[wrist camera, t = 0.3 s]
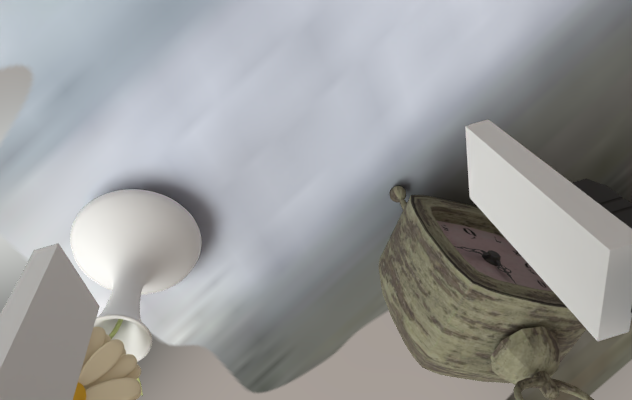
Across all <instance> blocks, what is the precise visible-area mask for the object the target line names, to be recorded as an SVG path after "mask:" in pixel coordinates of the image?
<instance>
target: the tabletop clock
mask: <svg viewBox="0 0 632 400" xmlns="http://www.w3.org/2000/svg"><path fill="white" fill-rule="evenodd" d="M405 197H406V191H405V189H404V188H403V187H401V186H395V187H393V188H392V189H391V190H390V198H391V199H392V200H393V201H395V202H400V204H401V207H402V209H403V212H402V214H401V216H400V218H399V221H398V223H397V225H396V227H395V229H394V231H393V233H392V235H391V237H390V239H389V241H388V243H387V245H386V247H385V249H384V251H383V253H382V255H381V257H380V261H379V273H380V280H381V287H382V292H383V296H384V298H385V301H386V304H387V306H388V309H389V312H390V314H391V317H392V319H393V321H394V323H395V325H396V327H397V329H398V331H399V333H400V335H401V337H402V339H403V341H404V343H405V345H406V346H407V348H408V350H409V351H410V353H411V354H412V356H413V357H414V358H415V359H416V361H417V362H418V363H419V364H420V365H421V366H422V367H423V368H425V369H427V370H430V371H432V372H435V373H438V374H441V375H445V376H451V377H457V378H464V379H471V380H477V381H485V382H502V383H513V384H515V387H514V396H515V399H516V400H524V399H523V397H522V395H521V392H522V391H523V390H524V389H527V388H539V389H540V390H541V392H542V393H543V394H544V396H545V397H546V398H548V399H550V400H552V399H555V398H557V397H558V396H559V391H563V392H566V393H569V394H572V395H574V396H576V397H579V398H581V399H583V400H594V399H592V398H591V397H590V396H589V395H588V394H586V393H585V392H583V391H582V390H580V389H579V388H577V387H575V386H573V385H570V384H568V383H565V382H563V381H559V380H555V379H552V378H551V377H552V376H553V375H554V373H555V372H556V371H557V369H558V367H559V364H560V362H561V361H562V360H563V358H564V357H565V356H566V355H567V353H568V352H569V351H570V350H571V348H572V347H573V346H574V344H575V343H576V342H577V341H578V339H579V338H580V337H581V335H582V334H583V333H584V332H585V330H586V328H585V327H584V326H583V324H582V323H581V322H580V321H579V320H578V319H577V318H576V317H575V315H574V314H573V313H572V312H571V311H570V310H569V309H568V308H567V306H566V305H565V304H564V303H563V302H562V301H561V300H560V299H559V297H558V296H557V295H556V294H555V293H554V292H553V291H552V290H551V288H550V287H549V286H548V285H547V284H546V283H545V282H544V281H543V279H542V278H541V277H540V276H539V275H538V274H537V273H536V272H535V271H534V269H533V268H532V267H531V266H530V265H529V264H528V263H527V262H526V260H525V259H524V258H523V257H522V256H521V255H520V254H519V253H518V251H517V250H516V249H515V248H514V247H513V246H512V245H511V244H510V242H509V241H508V240H507V239H506V238H505V237H504V236H503V235H502V233H501V232H500V231H499V230H498V229H497V228H496V227H495V226H494V224H493V223H492V222H491V221H490V220H489V219H488V218H487V217H486V215H485V214H484V213H483V212H482V211H481V210H480V209H479V208H478V207H476V206H472V205H468V204H465V203H461V202H456V201H451V200H447V199H442V198H437V197H432V196H426V195H411V196H410V198H409V200H408V202H407V203H406V201H405V200H404V199H405Z"/></svg>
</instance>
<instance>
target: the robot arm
mask: <svg viewBox="0 0 632 400" xmlns="http://www.w3.org/2000/svg"><path fill="white" fill-rule="evenodd" d="M465 129H466V146H467V163H468V179H469V196H470V199H471V200H472V201H473V202H474V203H475V204H476V205H477V206H478V208H479V209H480V210H481V211H482V212H483V213H484V214H485V215H486V217H487V218H488V219H489V220H490V221H491V222H492V223H493V224H494V226H495V227H496V228H497V229H498V230H499V231H500V232H501V233H502V235H503V236H504V237H505V238H506V239H507V240H508V241H509V242H510V244H511V245H512V246H513V247H514V248H515V249H516V250H517V251H518V253H519V254H520V255H521V256H522V257H523V258H524V259H525V260H526V262H527V263H528V264H529V265H530V266H531V267H532V268H533V269H534V271H535V272H536V273H537V274H538V275H539V276H540V277H541V278H542V279H543V281H544V282H545V283H546V284H547V285H548V286H549V287H550V288H551V290H552V291H553V292H554V293H555V294H556V295H557V296H558V297H559V299H560V300H561V301H562V302H563V303H564V304H565V305H566V306H567V308H568V309H569V310H570V311H571V312H572V313H573V314H574V315H575V317H576V318H577V319H578V320H579V321H580V322H581V323H582V324H583V326H584V327H585V328H586V329H587V330H588V331H589V332H590V333H591V335H592V336H593V337H594V338H595V339H596V340H597V341H600V340H604V339H607V338H610V337H613V336H617V335H620V334H623V333H626V332H629V327H630V322H631V317H632V203H630V202H629V201H627V200H626V199H622V196H620V195H619V194H617V193H616V192H615V191H613V190H612V189H610V188H609V187H607V186H605V185H603V184H600V183H597V182H594V181H591V180H588V179H584V180H581V181H577V182H574V183H571V182H570V181H568V180H567V179H566V178H564V177H563V176H562V175H561V174H559V173H558V172H557V171H555V170H554V169H553V168H551V167H550V166H549V165H547V164H546V163H545V162H543V161H542V160H541V159H540V158H538V157H537V156H536V155H534V154H533V153H532V152H530V151H529V150H528V149H526V148H525V147H524V146H523V145H521V144H520V143H519V142H517V141H516V140H515V139H513V138H512V137H511V136H509V135H508V134H507V133H505V132H504V131H503V130H502V129H500V128H499V127H498V126H496V125H495V124H494V123H492V122H491V121H490V120H484V121H481V122H477V123H474V124H470V125H467V126H465ZM98 310H99V305H98V303H97V302H96V300H95V299H94V297H93V296H92V294H91V293H90V291H89V290H88V288H87V286H86V285H85V283H84V282H83V280H82V279H81V277H80V276H79V274H78V273H77V271H76V269H75V268H74V266H73V265H72V263H71V262H70V260H69V259H68V257H67V256H66V254H65V253H64V251H63V249H62V248H61V246H60V245H59V243H58V244H54V245H51V246H47V247H44V248H40V249H37V250H34V251H33V253H32V255H31V257H30V259H29V261H28V263H27V265H26V266H25V268H24V270H23V272H22V274H21V276H20V278H19V280H18V282H17V284H16V285H15V287H14V289H13V291H12V293H11V295H10V297H9V299H8V301H7V302H6V304H5V306H4V308H3V310H2V312H1V314H0V400H73V397H74V394H75V390H76V387H77V383H78V380H79V376H80V373H81V369H82V366H83V362H84V359H85V355H86V352H87V348H88V345H89V341H90V338H91V334H92V331H93V327H94V324H95V320H96V317H97V313H98Z"/></svg>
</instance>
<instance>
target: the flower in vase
mask: <svg viewBox="0 0 632 400" xmlns="http://www.w3.org/2000/svg"><path fill="white" fill-rule="evenodd" d="M70 243H71V248H72V252H73V255H74V258H75V260H76V262H77V264H78V266H79V267H80V269H81V270H82V271H83V272H84V273H85V274H86V275H87V276H88V277H89V278H90V279H91V280H93V281H94V282H96V283H97V284H99V285H101V286H103V287H105V288H107V289H110V290H112V292H111V295H110V298H109V300H108V303H107V305H106V307H105V309H104V310H103V312H102V313H101V314H100V315H99V316H98V317H96V320H95V324H94V327H93V331H92V334H91V338H90V341H89V345H88V348H87V352H86V355H85V359H84V362H83V366H82V369H81V373H80V376H79V380H78V383H77V387H76V390H75V394H74V397H73V400H136V399H137V398H139V397H140V395H142V388H141V383H140V380H139V376H140V374H141V368H140V366H139V365H137V361H139V360H141V359H142V358H143V357H145V356H146V355H147V354H148V352H149V351H150V349H151V347H152V336H151V333H150V331H149V329H148V328H147V327H146V326H145V325H144V324H143V323H142V322H141V319H140V297H141V295H143V294H152V293H156V292H160V291H163V290H166V289H169V288H171V287H173V286H174V285H176V284H178V283H179V282H180V281H182V280H183V279H184V278H185V277H186V276H187V275H188V274H189V273H190V271H191V270H192V269H193V267H194V266H195V264H196V263H197V261H198V259H199V256H200V252H201V246H202V240H201V234H200V230H199V228H198V225H197V223H196V221H195V220H194V218H193V217H192V215H191V214H190V213H189V212H188V211H187V210H186V209H185V208H184V207H183V206H181V205H180V204H179V203H178V202H176V201H174V200H173V199H171V198H169V197H167V196H164V195H162V194H159V193H156V192H152V191H147V190H139V189H125V190H118V191H113V192H109V193H107V194H104V195H101V196H99V197H97V198H95V199H94V200H92V201H91V202H89V203H88V204H87V205H86V206H85V207H83V208H82V209H81V211H80V212H79V213H78V215H77V216H76V218H75V220H74V222H73V225H72V228H71V233H70Z"/></svg>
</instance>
